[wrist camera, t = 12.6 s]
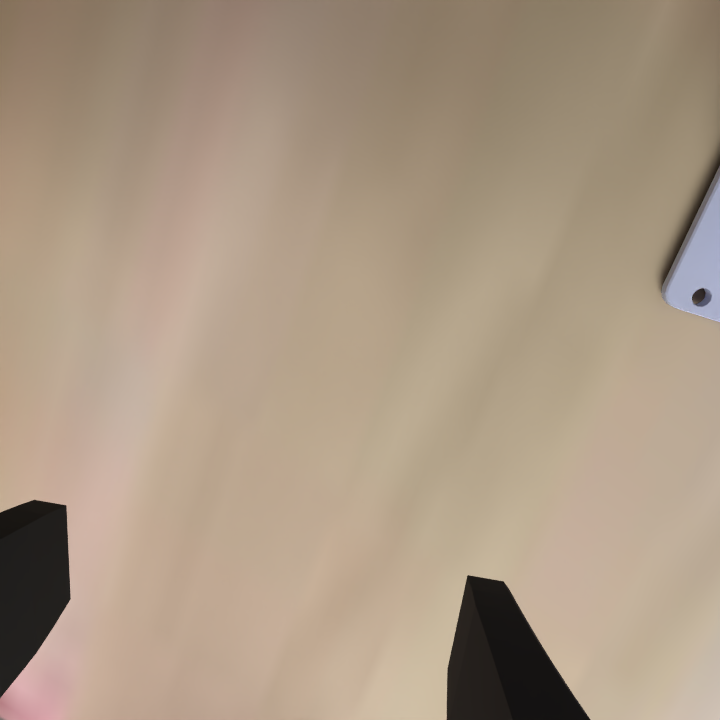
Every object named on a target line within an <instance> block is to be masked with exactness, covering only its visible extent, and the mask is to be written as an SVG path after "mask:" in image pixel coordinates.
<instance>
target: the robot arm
mask: <svg viewBox="0 0 720 720" xmlns="http://www.w3.org/2000/svg"><path fill="white" fill-rule="evenodd" d="M701 288H704V290H705V292H706V294H705V298H704V299H703V300H702V301H701V302H699V303H697V304H693V302H692V295H693V294H694V292H695V291H696V290H698V289H701ZM661 293H662V298H663V299H664V301H665V302H666V303H667V304H669V305H671V306H672V307H674V308H677V309H680V310H683V311H686V312H689V313H692V314H695V315H699V316H702V317H705V318H708V319H711V320H714V321H718V322H720V166H719V168H718V170H717V172H716V175H715V177H714V179H713V181H712V183H711V185H710V187H709V189H708V191H707V193H706V196H705V198H704V200H703V202H702V204H701V206H700V208H699V210H698V212H697V214H696V216H695V219H694V221H693V223H692V225H691V227H690V229H689V231H688V233H687V235H686V237H685V240H684V242H683V244H682V246H681V248H680V250H679V252H678V254H677V256H676V258H675V260H674V263H673V265H672V267H671V269H670V271H669V273H668V275H667V277H666V279H665V281H664V283H663V286H662V290H661ZM69 601H70V577H69V555H68V533H67V511H66V505H60V504H55V503H49V502H43V501H37V500H33V501H30V502H27V503H24V504H21V505H18V506H16V507H13V508H11V509H8V510H6V511H3V512H1V513H0V698H1V696H2V695H3V694H4V693H5V691H6V690H7V689H8V688H9V686H10V685H11V684H12V683H13V681H14V680H15V679H16V678H17V677H18V675H19V674H20V673H21V672H22V670H23V669H24V668H25V667H26V665H27V664H28V663H29V662H30V660H31V659H32V658H33V656H34V655H35V654H36V653H37V651H38V650H39V648H40V647H41V645H42V644H43V642H44V640H45V639H46V637H47V636H48V634H49V633H50V631H51V630H52V628H53V627H54V625H55V623H56V622H57V620H58V619H59V617H60V615H61V614H62V612H63V610H64V609H65V607H66V605H67V604H68V602H69ZM447 720H590V718H589V717H588V716H587V714H586V713H585V711H584V710H583V708H582V707H581V705H580V704H579V703H578V701H577V700H576V698H575V697H574V695H573V694H572V692H571V691H570V689H569V687H568V686H567V684H566V683H565V681H564V680H563V678H562V677H561V675H560V674H559V672H558V671H557V669H556V668H555V666H554V664H553V663H552V661H551V660H550V658H549V657H548V655H547V653H546V652H545V650H544V648H543V647H542V645H541V644H540V642H539V640H538V639H537V637H536V635H535V634H534V632H533V630H532V629H531V627H530V625H529V623H528V622H527V620H526V618H525V617H524V615H523V613H522V611H521V610H520V608H519V606H518V604H517V603H516V601H515V599H514V597H513V595H512V594H511V592H510V590H509V588H508V587H507V586H506V584H505V583H504V582H503V581H497V580H492V579H486V578H480V577H474V576H469V575H468V576H467V581H466V585H465V590H464V595H463V599H462V604H461V609H460V613H459V618H458V623H457V627H456V632H455V637H454V642H453V646H452V651H451V656H450V660H449V665H448V676H447Z"/></svg>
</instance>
